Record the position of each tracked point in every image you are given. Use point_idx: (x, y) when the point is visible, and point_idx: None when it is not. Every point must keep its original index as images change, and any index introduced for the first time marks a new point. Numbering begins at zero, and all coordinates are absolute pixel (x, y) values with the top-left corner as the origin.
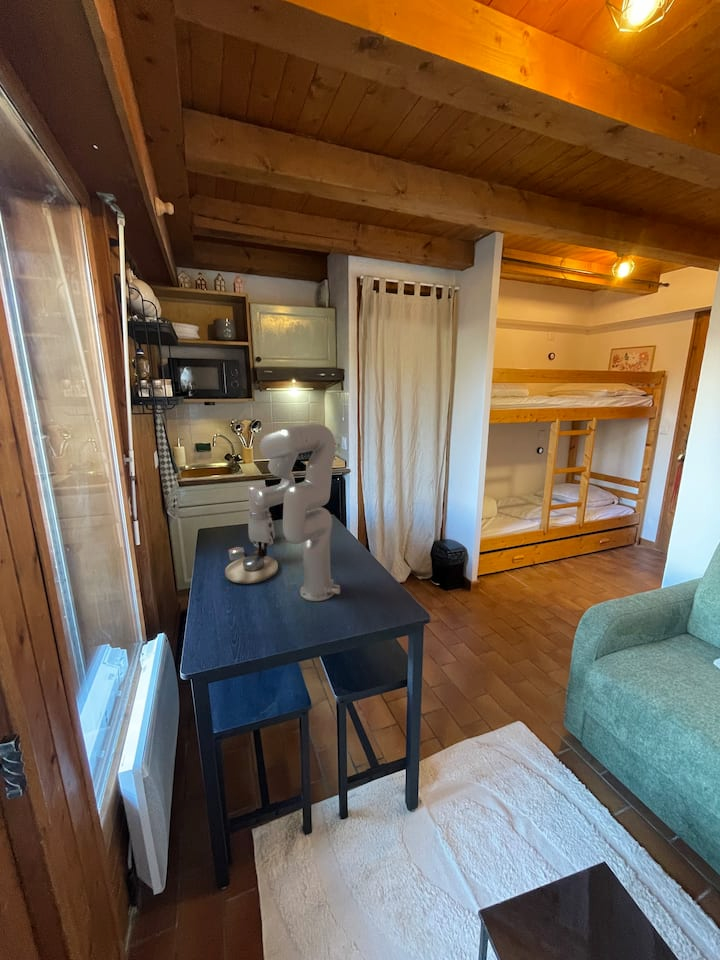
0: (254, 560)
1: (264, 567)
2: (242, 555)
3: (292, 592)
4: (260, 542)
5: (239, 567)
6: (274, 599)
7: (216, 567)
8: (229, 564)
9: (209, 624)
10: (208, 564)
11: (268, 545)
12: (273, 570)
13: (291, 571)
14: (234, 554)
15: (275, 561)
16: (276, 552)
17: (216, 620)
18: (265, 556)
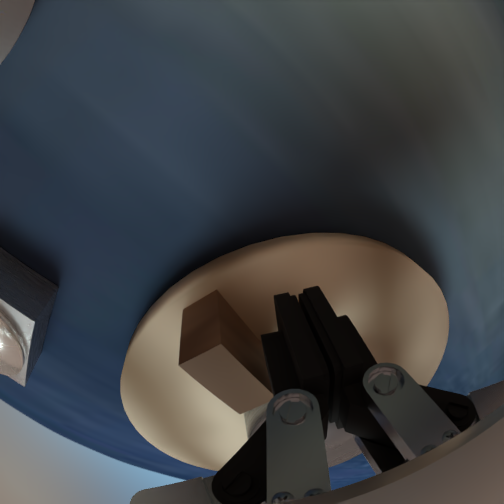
0: (341, 440)
1: None
2: (45, 314)
3: (497, 339)
4: (295, 457)
5: (234, 438)
6: (459, 389)
7: (78, 415)
8: (150, 442)
9: (355, 482)
10: (30, 406)
11: (32, 3)
12: (441, 349)
13: (479, 238)
14: (29, 363)
15: (416, 275)
16: (199, 25)
17: (361, 476)
18: (275, 261)
